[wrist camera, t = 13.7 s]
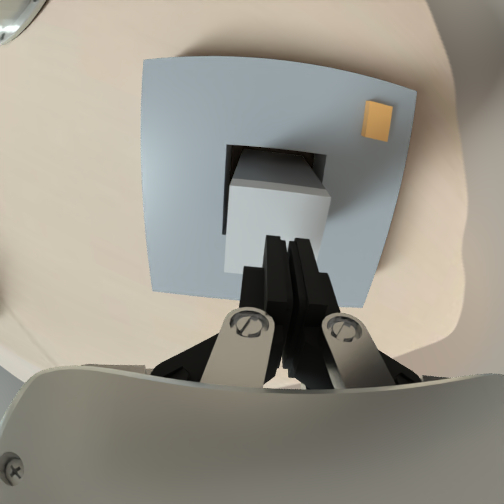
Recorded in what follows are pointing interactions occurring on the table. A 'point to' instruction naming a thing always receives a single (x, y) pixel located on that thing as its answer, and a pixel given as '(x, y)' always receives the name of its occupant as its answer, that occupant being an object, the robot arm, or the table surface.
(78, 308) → the table surface
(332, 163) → the socket
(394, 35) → the table surface
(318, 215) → the plug
